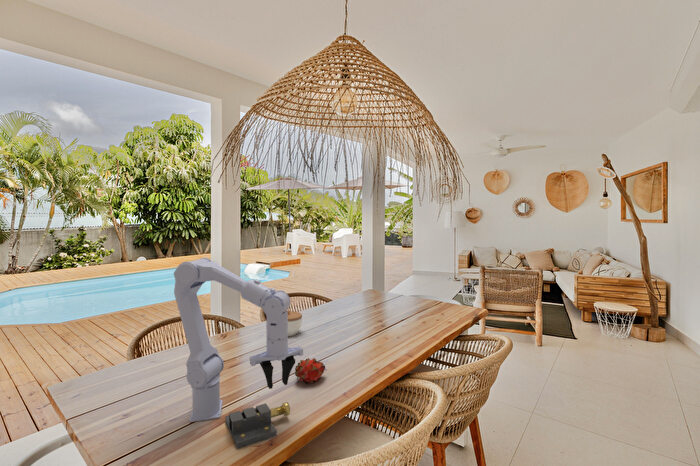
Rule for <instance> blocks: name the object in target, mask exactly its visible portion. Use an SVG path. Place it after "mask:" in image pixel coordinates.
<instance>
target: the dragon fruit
mask: <svg viewBox="0 0 700 466" xmlns="http://www.w3.org/2000/svg"><path fill="white" fill-rule="evenodd" d="M325 370H326V365H324V362H322V361H317V359H316V358H314V357H313V358H312V359H311V358H309V357H308V358H305V359H304V360H303V359H300V361H299V362H297V365H295V367H294V371H295V372H294V375H295V377H296V381H299V382H300V381H302V383H303V384H305V383H306V382H307V383H309V384H311V385H312V384H313V383H314V382H318V381H319V380H321V379H322V375H323V374H324V373H325Z"/></svg>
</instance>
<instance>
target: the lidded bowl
mask: <svg viewBox="0 0 700 466" xmlns="http://www.w3.org/2000/svg"><path fill="white" fill-rule="evenodd" d="M287 311H288V337H292V336H295V335H297V333H298V332H299V331H300V329H301V327H302V319H303V313H301V312H299V311H293V310H292V311H291V310H287Z"/></svg>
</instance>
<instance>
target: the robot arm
mask: <svg viewBox="0 0 700 466" xmlns="http://www.w3.org/2000/svg"><path fill="white" fill-rule="evenodd" d="M173 276H174V280H175V282H174V290H173V291H174V292H173V294H174V298H175V301H176V304H177V309H178V312H179V316H180V320H181V323H182V327H183V330H184V334H185V335H184V336H185V337H186V340H187V342H186V343H187V345H188V349H189V355H188V359H187V360H186V363H185V364H186V365H185V366H186V369H187V370H186V381H187V382H188V384H189V385H190V387H191V390H192V391H191V393H192V394H191V395H192V399H191V400H192V410H191V413H190V417H189V419H188V421H189V422H190V423H194V422H200V421H207V420H214V419H220V418H221V415H222V409H223V408H222V407H223V402H224V401H223V399H221V398H220V396H221V395H220V394H221V393H220V387H221V385H220V377H221V376H220V375H221V374H220V373H221V372H222V371H223V370H224V366H225V363H224V360H223V358H222V356H221V355H220V354H219V351H218V349H217V348H216V347H215V346H213V345H211V341H210V338H209V335H208V331H207V327H206V323H205V320H204V316H203V312H202V308H201V305H200V301H199V298H198V292H199V290H200V289H201V287H202V286H203V285H204V283H206V282H211V281H212V282H213V281H215V282H217V283H219V284H221V285H224V286H226V287H228V288H230V289H232V290H235V291H237V292H239V294H240V297H241V298H242V299H243V300H246V301H247V302H249V303H251V304H253V305H255V306H257V307H258V308H260V309H262V310H263V313H264V315H265V316H266V323H265V324H266V351H264V352H261V353H258V354H254V355H251V356H249V364H250V366H251V367H255V366H256V365H260V367H261V368H262V371H263V374H264V376H265V380H266V383H267V384H266V385H267V387H268V389H269V390H271V389H273V386H274V385H273V375H274V374H273V373H274V366H273V365H272V362H274V361H281V369H282V370H281V381H282V384H283V385H284V386H287V385H288V382H289V379H290V378H289V377H290V375H291V372H292V369H293V367H294V365H296V359H295V357H296V356H297V357H298V356H300V357H302V356H304V349H303V347H301V346H296V347H295V346H294V347H289V344H288V343H289V338H288V337H289V336H288V311H289V310H288V309H289V307H290V306H291V298H290V296H289V294H288V293H287V292H285V291H284V290H276V288H275V287H268V286H266V285H265V284H263V283H261V280H259V279H249V280H245V279H244V278H242V277H240V276H239V275H237V274H235V273H233V272H232V271H230V270H228V269H227V268H225V267H223V266H221V265H220V264H219V263H218V262H217V261H215V260H211V259H210V258H207V257H201V258H199V259H194V260H191V261H183V262H181V263H180V264H179V265H178V266H177V267H176V269H175V270H174V271H173Z"/></svg>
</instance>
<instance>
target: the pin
mask: <svg viewBox="0 0 700 466" xmlns="http://www.w3.org/2000/svg"><path fill="white" fill-rule="evenodd" d="M269 409H270V410H271V419H273V418H276V417H279V416H282V415H283V417H287V416H290V415H291V407H290V403H289V402H288V401H286V402H283V403H282V404H281V405H280V406H277V407H273V408H269ZM257 414H258V415H260V414H259V412H258V413H257Z"/></svg>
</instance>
